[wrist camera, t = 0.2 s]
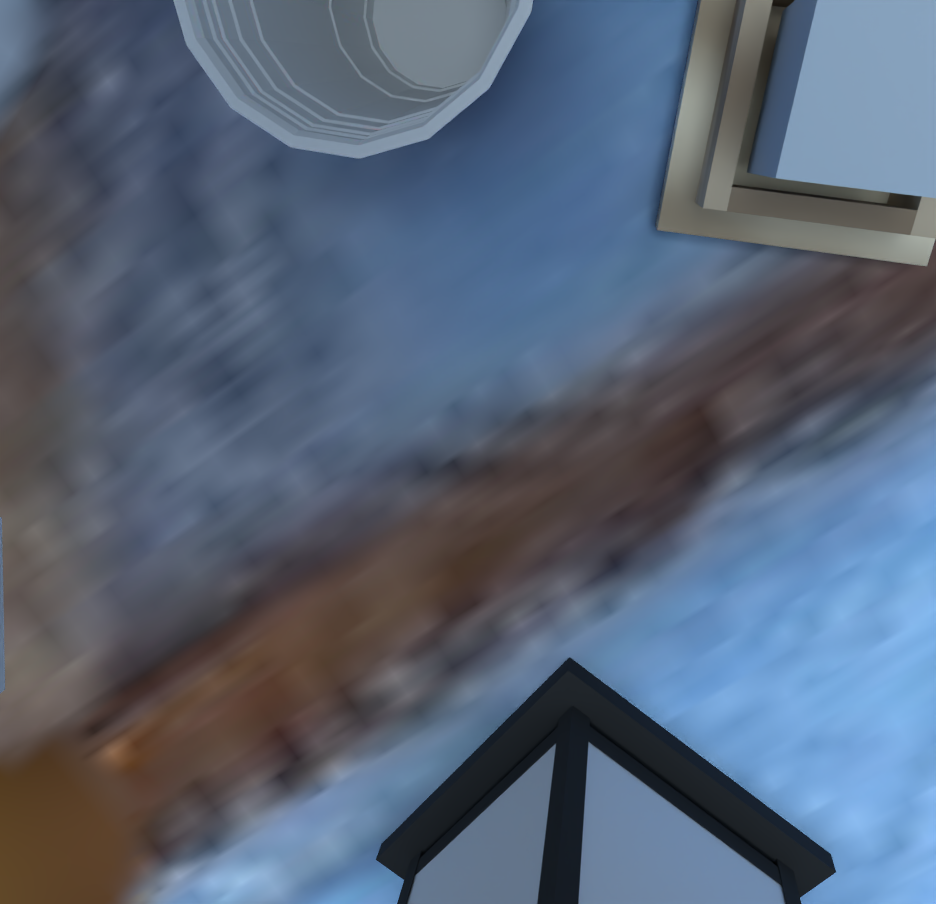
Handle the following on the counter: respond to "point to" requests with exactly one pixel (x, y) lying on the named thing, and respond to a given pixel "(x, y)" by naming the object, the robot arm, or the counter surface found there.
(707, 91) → the beige slotted block
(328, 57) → the plastic cup
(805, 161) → the slate key
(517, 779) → the lantern
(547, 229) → the counter surface
